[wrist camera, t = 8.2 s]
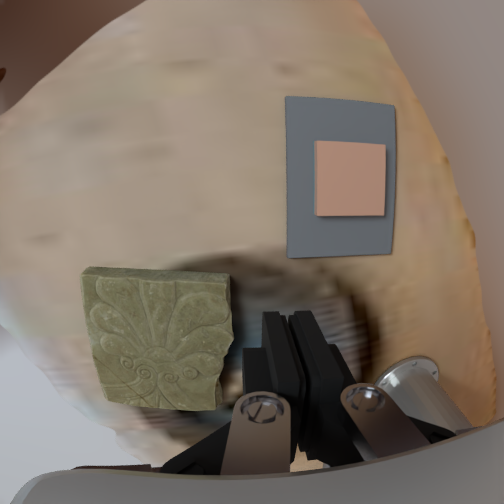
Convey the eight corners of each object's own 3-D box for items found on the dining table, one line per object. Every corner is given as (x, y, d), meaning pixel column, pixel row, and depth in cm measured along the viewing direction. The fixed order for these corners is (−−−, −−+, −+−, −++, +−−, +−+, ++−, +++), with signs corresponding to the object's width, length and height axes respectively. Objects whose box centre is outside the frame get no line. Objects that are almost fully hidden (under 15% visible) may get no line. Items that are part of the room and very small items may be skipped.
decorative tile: (109, 390, 42) (102, 405, 39) (86, 264, 37) (75, 274, 33) (231, 399, 44) (232, 416, 40) (235, 270, 38) (235, 281, 35)
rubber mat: (387, 251, 38) (390, 253, 37) (286, 256, 37) (287, 258, 37) (391, 106, 33) (394, 105, 32) (284, 97, 32) (286, 96, 32)
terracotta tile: (313, 213, 35) (378, 213, 36) (317, 216, 34) (383, 215, 34) (313, 141, 33) (379, 145, 34) (317, 140, 32) (385, 144, 32)
